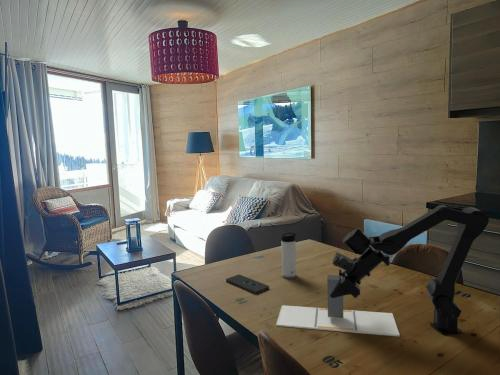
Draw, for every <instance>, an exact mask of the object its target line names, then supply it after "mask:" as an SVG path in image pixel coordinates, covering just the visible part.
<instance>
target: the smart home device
mask: <svg viewBox="0 0 500 375" xmlns="http://www.w3.org/2000/svg"><path fill="white" fill-rule="evenodd" d="M225 282H226V283H228V284H230V285H232V286H235V287H237V288H239V289H242V290H244V291H247V292H248V293H251V294H252V295H258V294H260V293H263V292H265V291H268V290H270V285H268V284H265V283H263V282H260V281H258V280H255V279H252V278H249V277H248V276H245V275H243V274H236V275H234V276H230V277H226V278H225Z"/></svg>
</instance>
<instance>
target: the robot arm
mask: <svg viewBox="0 0 500 375" xmlns="http://www.w3.org/2000/svg"><path fill="white" fill-rule="evenodd" d="M444 221H450V222H453V223H457V228H456V230H457V231H456V236H455V238H454V241H453V243H452V245H451V247H450V250H449V252H448V255H447V257H446V259H445V262H444V264H443V266H442V268H441V271H440V273H439V275H437V276H436V277H435V278H434V277H432V276H430V278H429V280H428V281H429V282H428V284H427V285H426V286H425V288H426V294H427V297H428V298H429V300H430V301H431V303H432V305H433V306H434V310H433V322H430V323H429V325H430V326H431V327H432V328H433V329H434V330H436V331H438V332H439V333H440V334H442V335H447V336H448V335H453V334H454V335H455V334H462V333H463V330H461V329H460V328H458V325H459V324H458V323H459V322H458V321H459V320H458V319H459V317H460V316H461V314H462V310H461V308H460V307H459V306H458V304H457V303H456V302H455V300H454V299H455V296H456V281H457V279H458V277H459V275H460V272H461V270H462V268H463V265H464V264H465V262H466V258H467V256H468V254H469V253H470V250H471V248H472V245H473V243H474V241H475V240H476V239H477V238H478V237H480V236H481V235H482V234H483V233H484V232H485V230H486V228H487V227H488V226H489V224H490V218H489V216H488V214H486V212H484V211H482V210H480V209H478V208H476V207H472V206H469V207H464V208H462V207H455V206H447V205H444V204H439V205H437V206H435V208H433V209H431V210H429V211H427V212H426V213H424V214H423V215H421V216H419V217H417V218H416V219H414V220H412V221H410V222H409V223H407V224H405V225H404V226H402V227H399V228H394V229H391V230H388V231H385V232H382V233H381V234H380V235H377V236H369V237H368V236H367V235H366V234H365V233H364V232H363V231H362V229H361V228H360V227H357V228H356V229H353V230H352V231H351V232H350V231H349V232H348V233H347V234H346V235H345V237H344V238H343V240H342V243H343V244H345V246H347V248H349V250H351V251H352V253H354V254H355V255H360V256H359V257H354V258H352V259H351V258H350V257H348V256H346V255H345V254H342V253H339V252H336V253H335V255H334V257H333V259H332V265H333V266H335V267H338V268H340V269H338V275H339V276H343V278H342V279H341V278H339V285H338V286H337V287H336V289H335V290H334V291H333V292H332V294H331V295H330V297H331V298H336V297H340V296H343V297H344V296H347V295H351V296H352V297H353V298H354V299H357V298H358V297H360V296H361V288H360V285H361V284H362V280H363V279H365V278H366V277H370V276H371V275H372V273H371V272H373V271H374V270H375V269H376V268H377V267H378V266H380V265H381V264H382V263H384V264H385V266H387V267H389V266H390V256H393V255H396V254H397V253H399V252H400V251H401V250H402V249H404V247H405V246H406V245H407V244H408V243H409V242H411V240H413V239H414V238H416V237H417V236H420V235H422V234H423V233H424V232H426V231H428V230H430V229H432V228H433V227H435V226H437V225H439V224H441V223H442V222H444ZM341 269H342V270H341Z"/></svg>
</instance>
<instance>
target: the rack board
mask: <svg viewBox="0 0 500 375" xmlns="http://www.w3.org/2000/svg"><path fill="white" fill-rule="evenodd" d="M275 326H276V327H287V328H295V329H297V328H299V329H307V330H309V329H310V330H319V331H320V330H321V331H330V332H331V331H332V332H344V333H355V334H364V335H365V334H366V335H367V334H368V335H377V336H387V337H388V336H389V337H401V336H400V335H401V334H400V331H399V329H398V325H397V323H396V320H395V316H394V315H393V313H392V312H380V311H379V312H377V311H364V310H353V309H351V310H350V309H343V318H334V317H328V308H324V307H312V306H309V307H308V306H299V305H298V306H296V305H281V307H280V310H279V315H278V317H277V320H276V324H275Z"/></svg>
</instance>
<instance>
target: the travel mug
mask: <svg viewBox="0 0 500 375" xmlns="http://www.w3.org/2000/svg"><path fill="white" fill-rule="evenodd" d="M296 235H297V233H296V232H285V233H282V234H281V240H280V241H281V242H280V244H281V245H280V246H281V274H282V277H283V278H284V279H295V278H296V277H297V263H296V262H297V259H296V258H297V257H296V256H297V255H296V254H297V253H296V251H297V250H296V246H297V245H296Z"/></svg>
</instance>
